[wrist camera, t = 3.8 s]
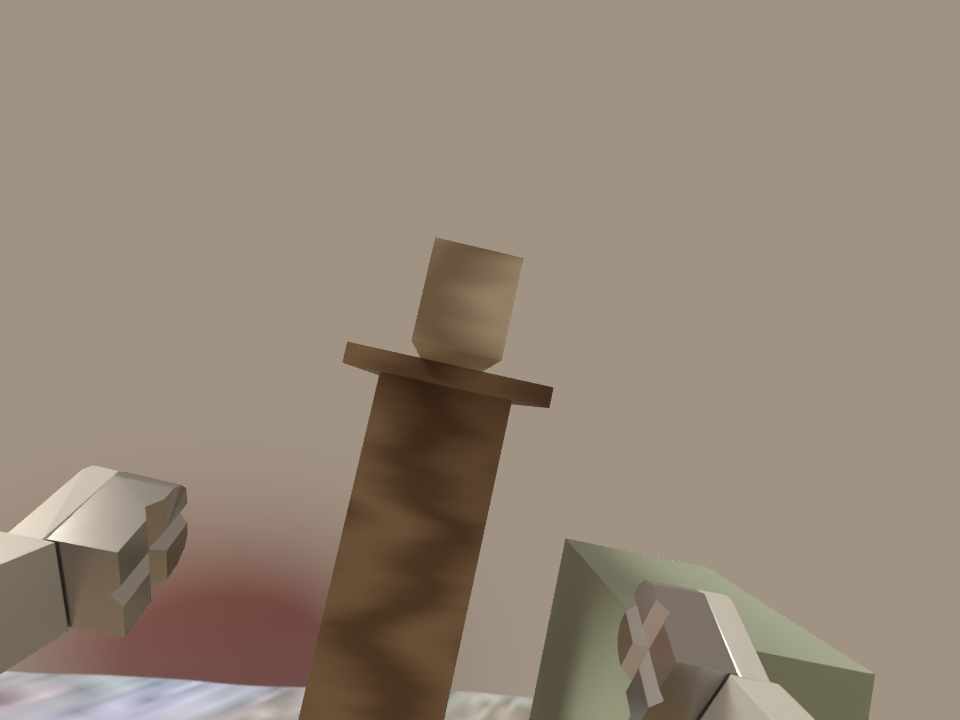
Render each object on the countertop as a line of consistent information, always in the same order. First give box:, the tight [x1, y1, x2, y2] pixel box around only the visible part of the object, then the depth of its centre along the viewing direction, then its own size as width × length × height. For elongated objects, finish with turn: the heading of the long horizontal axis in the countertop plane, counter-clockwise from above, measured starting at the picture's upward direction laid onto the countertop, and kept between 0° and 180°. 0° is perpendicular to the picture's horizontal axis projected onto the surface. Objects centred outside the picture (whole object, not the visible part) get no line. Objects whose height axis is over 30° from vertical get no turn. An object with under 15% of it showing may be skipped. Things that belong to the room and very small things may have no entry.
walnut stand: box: [299, 342, 553, 720], centre depth 31 cm, size 10×14×26 cm
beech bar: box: [412, 237, 523, 372], centre depth 28 cm, size 3×20×4 cm, turn 4°
